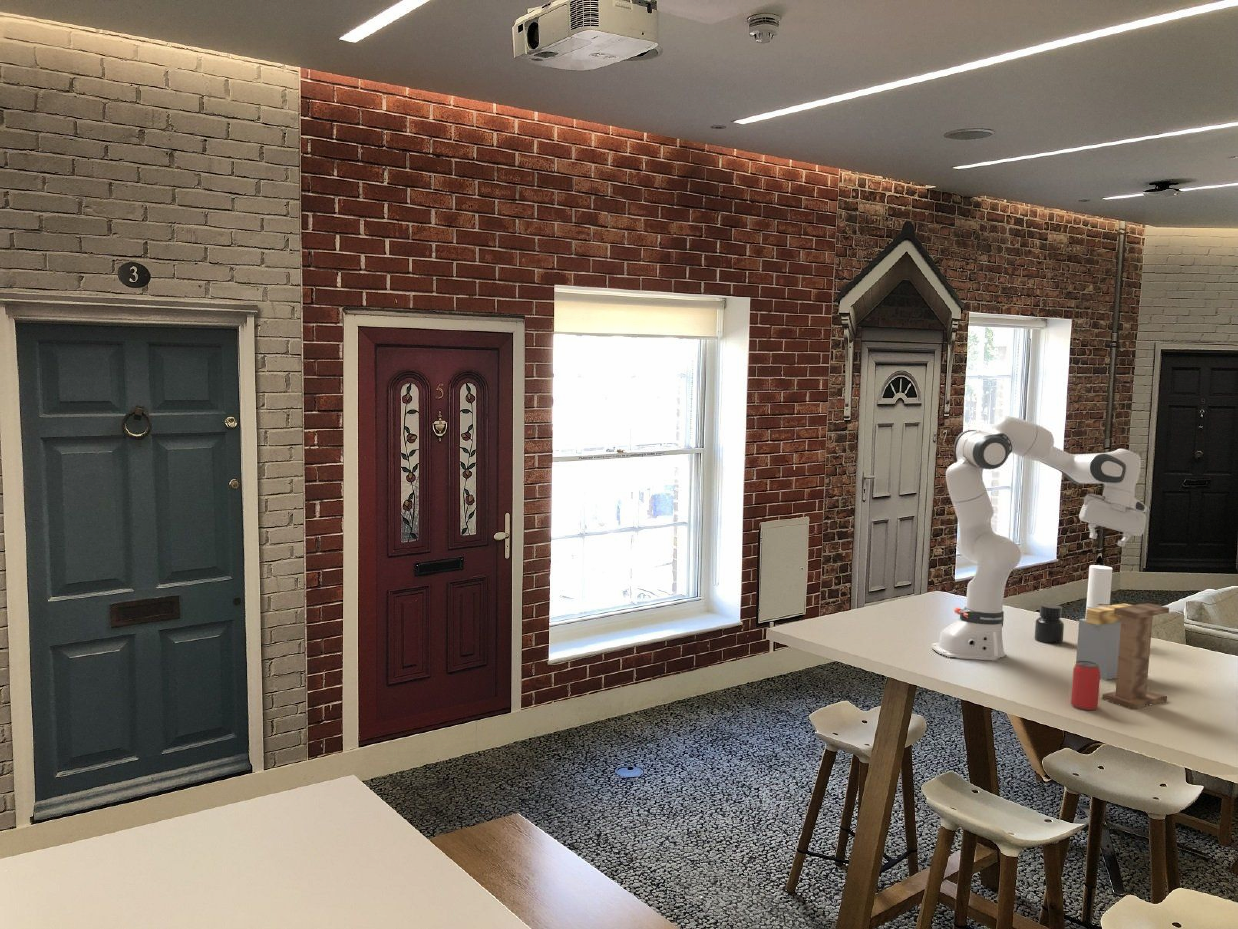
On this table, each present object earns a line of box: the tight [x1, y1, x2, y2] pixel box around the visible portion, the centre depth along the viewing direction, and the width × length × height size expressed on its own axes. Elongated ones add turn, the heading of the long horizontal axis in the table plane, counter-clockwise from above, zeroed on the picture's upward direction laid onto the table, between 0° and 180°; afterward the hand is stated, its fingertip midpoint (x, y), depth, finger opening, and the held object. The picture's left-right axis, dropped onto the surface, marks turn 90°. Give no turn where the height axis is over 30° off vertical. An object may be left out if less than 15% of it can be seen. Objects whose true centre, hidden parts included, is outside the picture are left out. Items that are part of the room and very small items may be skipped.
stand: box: [1101, 602, 1170, 710], centre depth 270 cm, size 16×9×26 cm, turn 121°
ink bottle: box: [1034, 603, 1065, 644], centre depth 333 cm, size 10×9×12 cm
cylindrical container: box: [1085, 564, 1113, 612], centre depth 338 cm, size 7×7×25 cm
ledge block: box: [1075, 617, 1121, 681], centre depth 297 cm, size 14×10×16 cm
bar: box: [1085, 603, 1133, 625], centre depth 297 cm, size 19×4×4 cm, turn 121°
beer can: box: [1070, 661, 1101, 711], centre depth 264 cm, size 7×7×12 cm
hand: (1106, 542), depth 311 cm, fingers open, 8 cm apart
